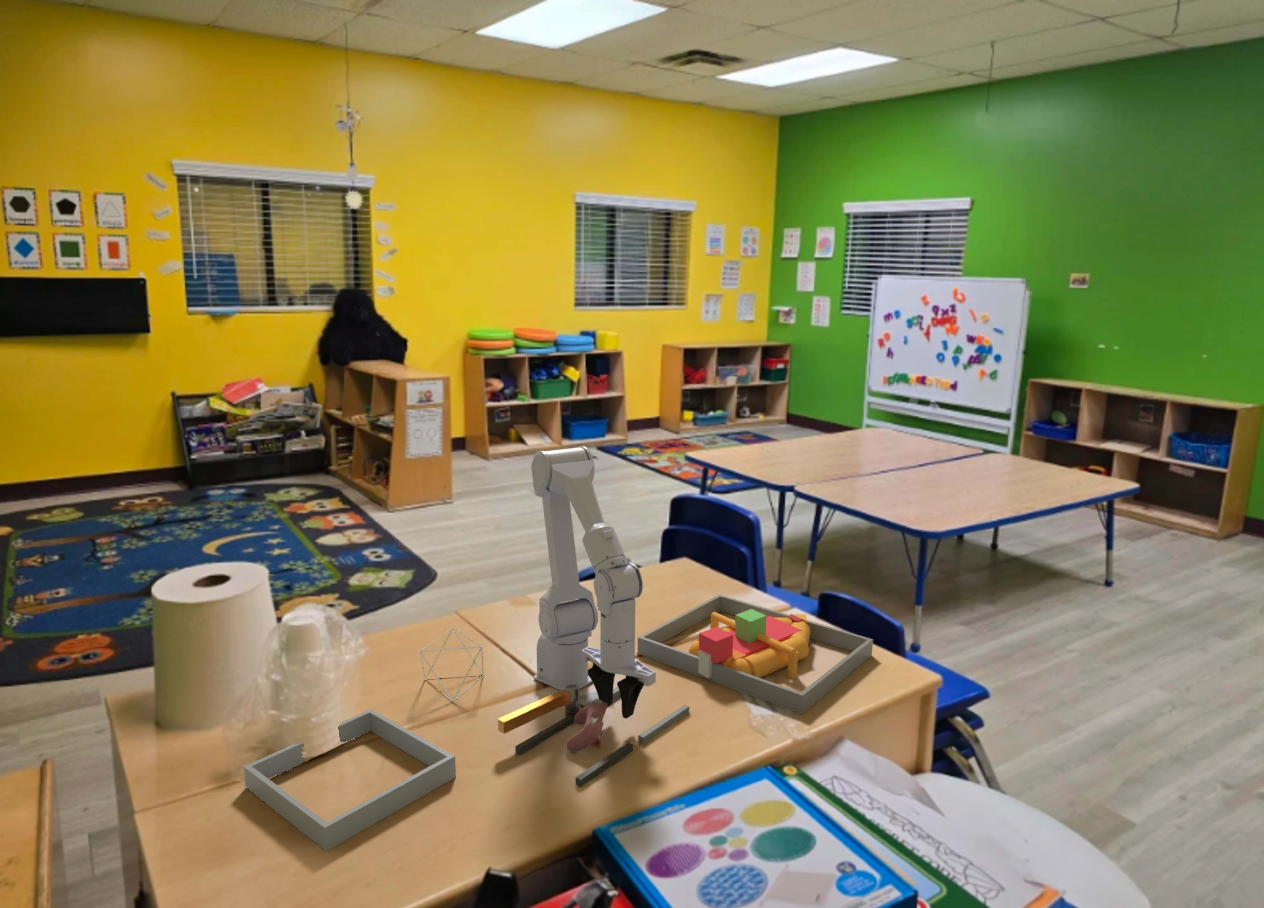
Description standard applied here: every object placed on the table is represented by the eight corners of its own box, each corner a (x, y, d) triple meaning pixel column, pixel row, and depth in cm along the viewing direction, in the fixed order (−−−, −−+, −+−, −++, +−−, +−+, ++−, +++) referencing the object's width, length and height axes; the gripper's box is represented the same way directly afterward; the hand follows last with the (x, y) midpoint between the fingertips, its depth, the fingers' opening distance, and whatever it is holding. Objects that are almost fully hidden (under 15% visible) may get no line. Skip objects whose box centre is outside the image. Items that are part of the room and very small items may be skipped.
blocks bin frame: (637, 653, 169) (637, 637, 168) (718, 608, 191) (719, 594, 190) (801, 713, 146) (802, 695, 145) (871, 655, 169) (873, 639, 168)
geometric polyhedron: (483, 700, 150) (482, 653, 148) (420, 704, 148) (418, 657, 146) (483, 669, 162) (482, 624, 160) (425, 672, 160) (423, 628, 158)
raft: (846, 653, 169) (849, 611, 167) (742, 702, 151) (743, 656, 148) (762, 616, 186) (764, 578, 184) (659, 656, 168) (659, 614, 166)
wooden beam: (572, 709, 146) (572, 682, 145) (582, 714, 144) (582, 687, 143) (497, 746, 134) (496, 717, 133) (506, 752, 133) (505, 722, 132)
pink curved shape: (588, 763, 133) (608, 728, 132) (563, 750, 133) (582, 715, 132) (596, 730, 143) (615, 697, 141) (572, 718, 143) (590, 685, 141)
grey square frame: (245, 787, 124) (243, 766, 123) (372, 727, 140) (371, 708, 140) (326, 851, 111) (324, 827, 110) (455, 776, 127) (455, 755, 126)
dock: (515, 752, 133) (515, 746, 133) (627, 687, 155) (627, 681, 154) (580, 786, 125) (580, 779, 125) (689, 712, 146) (689, 706, 146)
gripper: (667, 640, 137) (666, 715, 140) (600, 616, 146) (600, 688, 149) (640, 654, 132) (639, 733, 135) (572, 629, 141) (573, 703, 144)
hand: (617, 710), depth 141 cm, fingers open, 4 cm apart
